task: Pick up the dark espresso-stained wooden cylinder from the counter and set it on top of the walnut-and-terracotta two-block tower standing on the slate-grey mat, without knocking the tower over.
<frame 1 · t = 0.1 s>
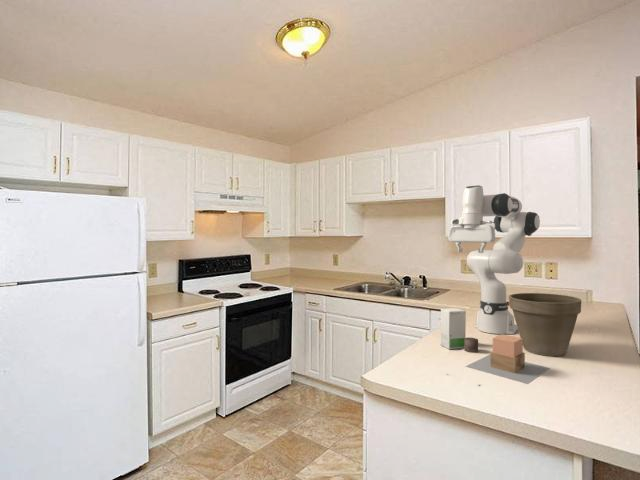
hand: (470, 252, 164), 39 cm above the worktop, tool pointing down, fingers open, 8 cm apart
walnut base block: (507, 367, 127), point 1 cm above the worktop, touching slate mat, terracotta top block
terracotta top block: (507, 352, 127), point 6 cm above the worktop, touching walnut base block
espresso cylinder: (471, 354, 145), on the worktop
plant pot: (543, 351, 149), on the worktop
skincare box: (452, 347, 155), on the worktop
slate mat: (507, 371, 127), on the worktop
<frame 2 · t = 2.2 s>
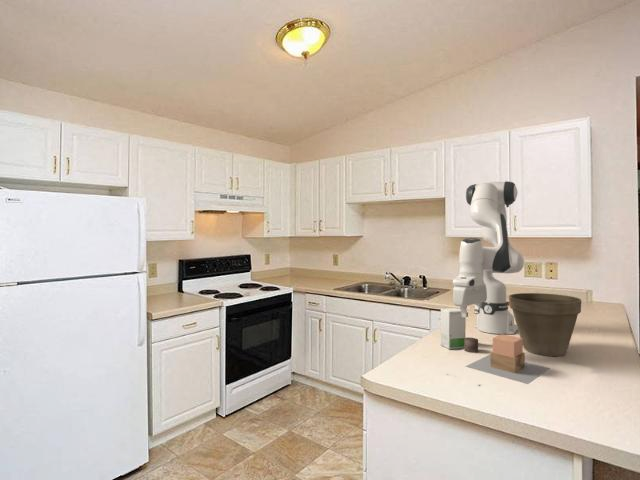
hand: (470, 315, 144), 15 cm above the worktop, tool pointing down, fingers open, 8 cm apart
nothing on the worktop moved.
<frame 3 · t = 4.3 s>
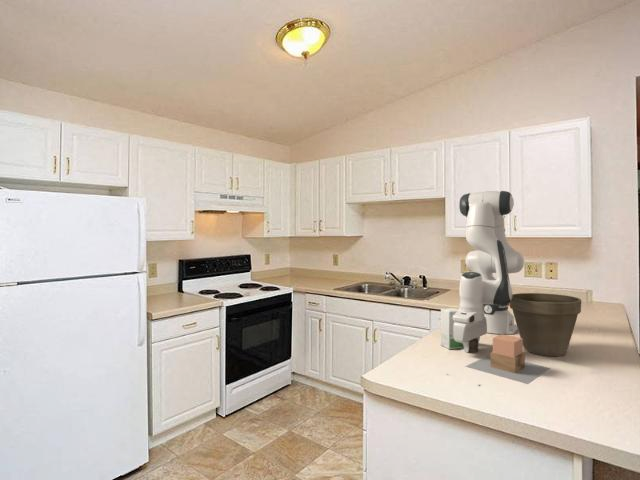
hand: (471, 349, 145), 2 cm above the worktop, tool pointing down, fingers closed on espresso cylinder, 5 cm apart
espresso cylinder: (471, 354, 145), on the worktop, touching gripper
everything else where it was.
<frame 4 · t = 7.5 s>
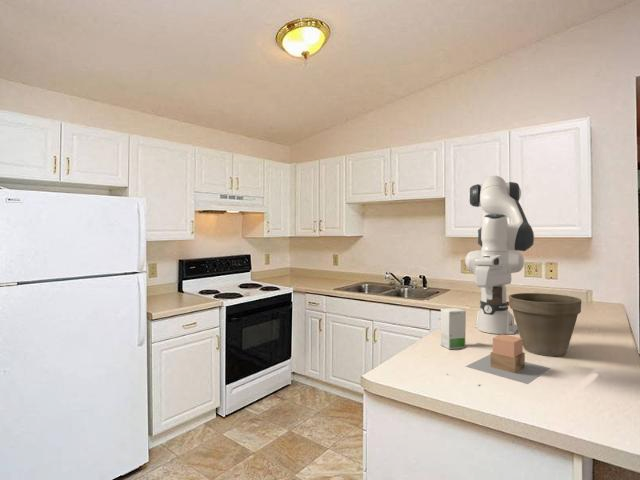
hand: (494, 298, 132), 24 cm above the worktop, tool pointing down, fingers closed on espresso cylinder, 5 cm apart
espresso cylinder: (494, 303, 132), point 22 cm above the worktop, touching gripper
everything else where it was.
when the fingers open (15 cm above the worktop, at t = 10.6 s): espresso cylinder drops 1 cm, resting on terracotta top block.
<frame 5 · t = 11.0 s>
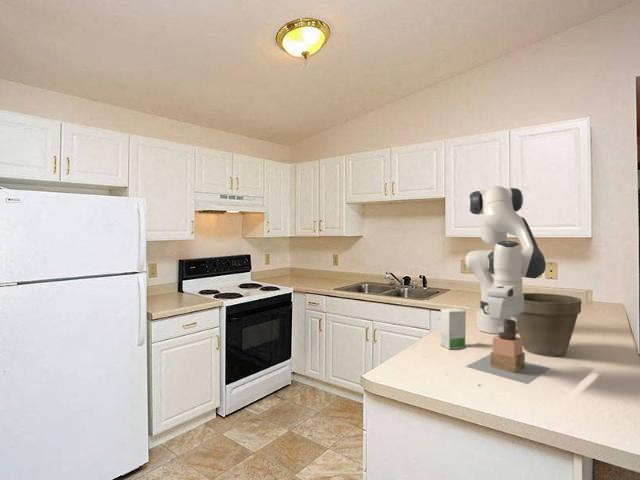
hand: (507, 329, 127), 15 cm above the worktop, tool pointing down, fingers open, 8 cm apart
terracotta top block: (507, 352, 127), point 6 cm above the worktop, touching espresso cylinder, walnut base block
espresso cylinder: (507, 338, 127), point 11 cm above the worktop, touching terracotta top block
everything else where it was.
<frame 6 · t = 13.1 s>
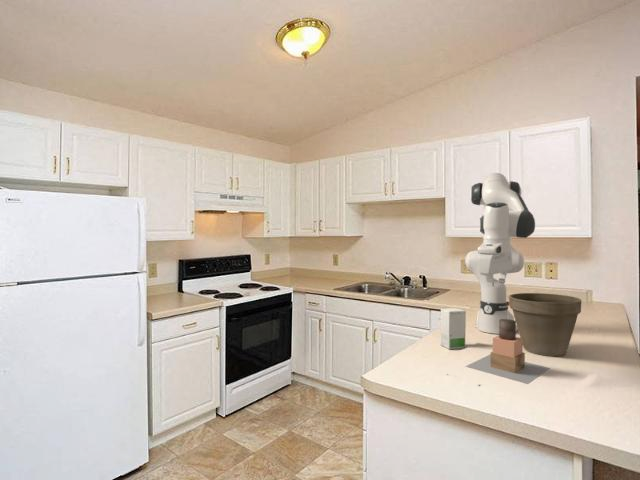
hand: (496, 284, 136), 28 cm above the worktop, tool pointing down, fingers open, 8 cm apart
nothing on the worktop moved.
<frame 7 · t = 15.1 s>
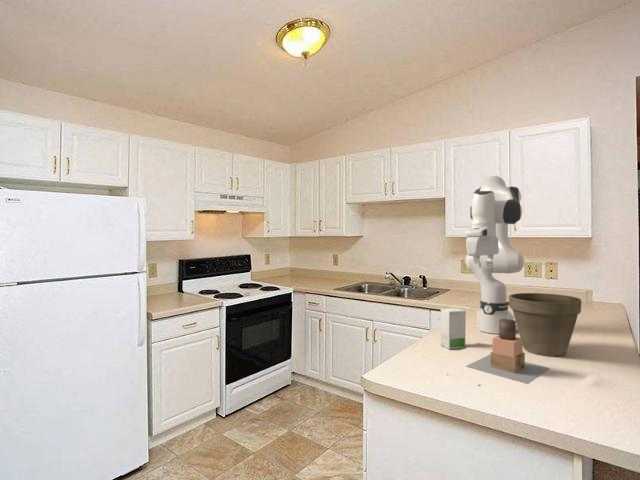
hand: (483, 266, 147), 34 cm above the worktop, tool pointing down, fingers open, 8 cm apart
nothing on the worktop moved.
at the end: espresso cylinder 0.1 cm off-centre on the slate mat, point 11.5 cm above the slate mat's base; terracotta top block 0.0 cm off-centre on the slate mat, point 6.5 cm above the slate mat's base; espresso cylinder tilted 0° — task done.
